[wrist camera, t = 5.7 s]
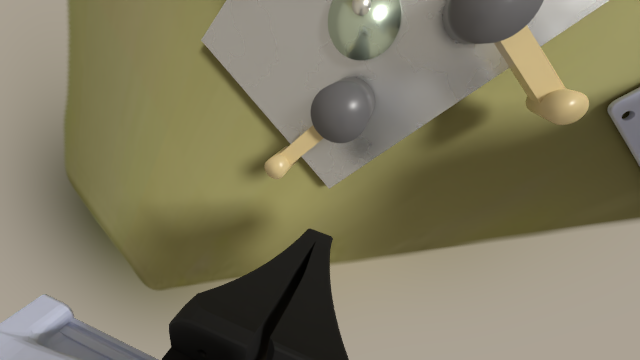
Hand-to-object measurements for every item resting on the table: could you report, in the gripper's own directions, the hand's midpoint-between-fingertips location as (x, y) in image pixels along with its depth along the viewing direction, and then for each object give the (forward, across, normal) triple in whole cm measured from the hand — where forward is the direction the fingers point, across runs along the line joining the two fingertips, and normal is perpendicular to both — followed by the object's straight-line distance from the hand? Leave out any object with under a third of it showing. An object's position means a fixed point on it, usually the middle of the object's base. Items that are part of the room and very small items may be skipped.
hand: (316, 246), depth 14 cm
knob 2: (+7, -6, -11) cm, 14 cm away
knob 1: (+7, +2, -4) cm, 9 cm away
